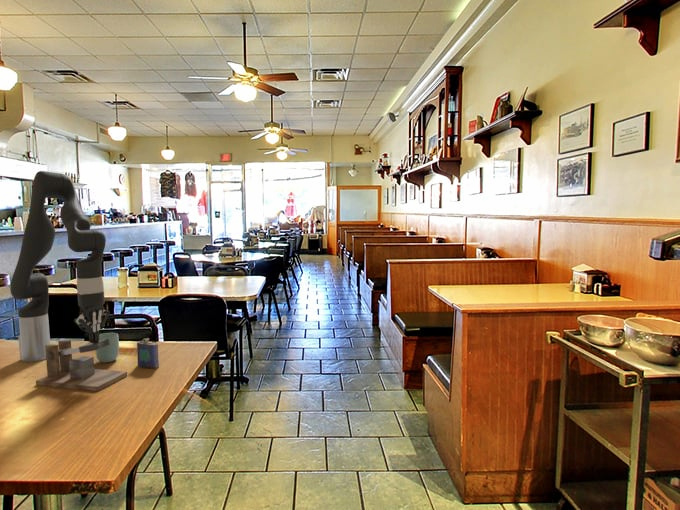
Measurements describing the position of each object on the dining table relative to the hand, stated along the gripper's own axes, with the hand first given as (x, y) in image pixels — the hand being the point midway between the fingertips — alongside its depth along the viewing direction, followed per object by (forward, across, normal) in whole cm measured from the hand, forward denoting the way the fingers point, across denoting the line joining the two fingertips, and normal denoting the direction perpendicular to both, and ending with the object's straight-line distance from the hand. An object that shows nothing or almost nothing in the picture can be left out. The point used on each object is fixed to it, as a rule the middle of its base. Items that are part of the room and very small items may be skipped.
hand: (94, 342), depth 139 cm
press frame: (+13, 0, -6) cm, 15 cm away
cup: (+14, -18, -12) cm, 26 cm away
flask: (+14, -16, +7) cm, 22 cm away
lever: (+3, 0, -6) cm, 7 cm away
